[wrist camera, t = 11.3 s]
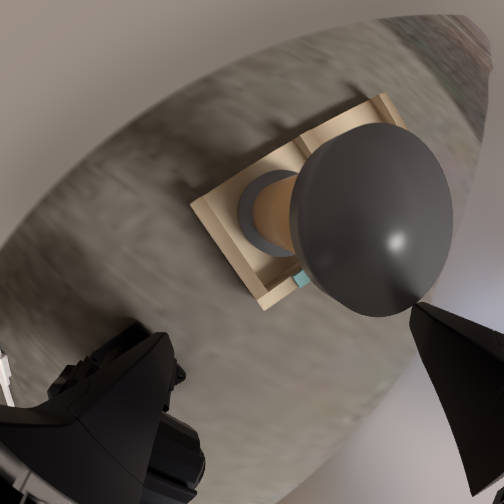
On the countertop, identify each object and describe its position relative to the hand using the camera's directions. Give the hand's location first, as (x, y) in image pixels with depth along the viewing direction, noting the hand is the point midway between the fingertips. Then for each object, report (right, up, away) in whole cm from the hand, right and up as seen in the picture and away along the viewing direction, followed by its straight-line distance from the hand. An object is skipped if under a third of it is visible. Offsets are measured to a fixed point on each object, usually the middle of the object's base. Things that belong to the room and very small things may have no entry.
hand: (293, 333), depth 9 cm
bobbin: (+1, +6, +11) cm, 12 cm away
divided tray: (+4, +8, +12) cm, 15 cm away
